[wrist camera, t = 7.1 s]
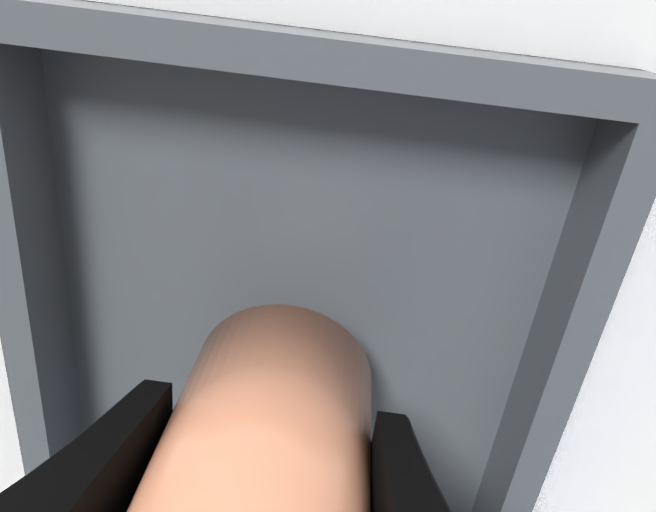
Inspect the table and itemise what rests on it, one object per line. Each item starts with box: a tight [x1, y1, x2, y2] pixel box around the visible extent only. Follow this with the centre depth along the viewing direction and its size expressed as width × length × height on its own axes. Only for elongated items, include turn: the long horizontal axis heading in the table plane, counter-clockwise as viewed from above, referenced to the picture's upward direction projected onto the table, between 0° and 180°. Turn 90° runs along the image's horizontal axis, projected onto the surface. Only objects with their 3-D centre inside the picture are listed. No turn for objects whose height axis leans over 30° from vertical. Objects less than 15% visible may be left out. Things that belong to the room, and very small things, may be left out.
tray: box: [0, 0, 656, 512], centre depth 14 cm, size 14×16×2 cm
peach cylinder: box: [127, 304, 371, 512], centre depth 11 cm, size 4×4×7 cm
